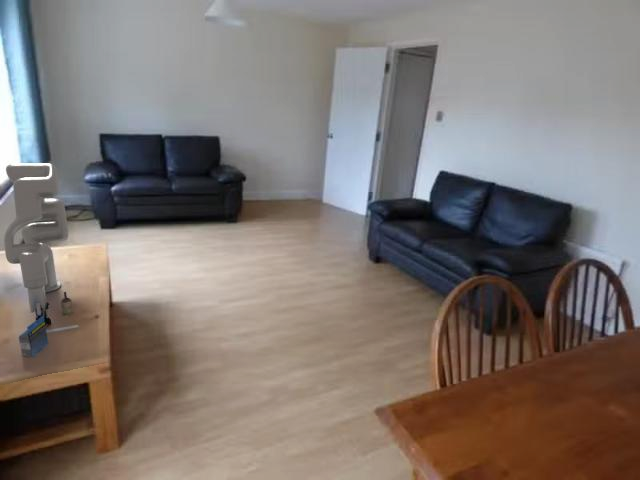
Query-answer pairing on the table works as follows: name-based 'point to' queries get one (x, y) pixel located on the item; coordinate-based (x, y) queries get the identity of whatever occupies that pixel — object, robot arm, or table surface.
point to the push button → (47, 314)
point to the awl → (66, 306)
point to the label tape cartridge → (33, 338)
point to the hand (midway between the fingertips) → (41, 322)
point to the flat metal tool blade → (61, 328)
